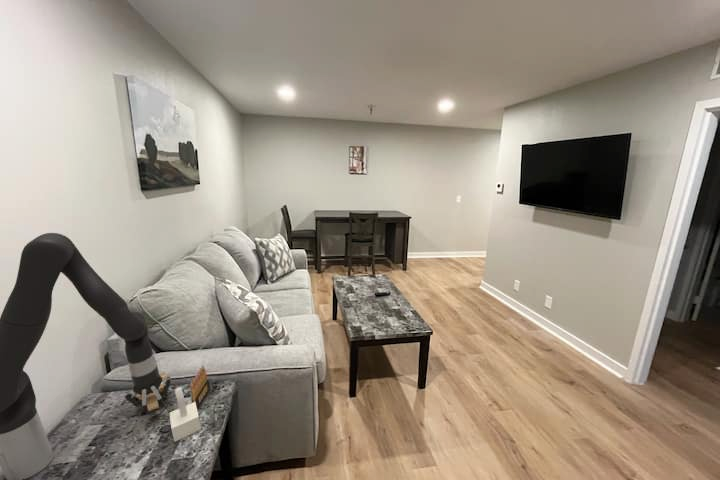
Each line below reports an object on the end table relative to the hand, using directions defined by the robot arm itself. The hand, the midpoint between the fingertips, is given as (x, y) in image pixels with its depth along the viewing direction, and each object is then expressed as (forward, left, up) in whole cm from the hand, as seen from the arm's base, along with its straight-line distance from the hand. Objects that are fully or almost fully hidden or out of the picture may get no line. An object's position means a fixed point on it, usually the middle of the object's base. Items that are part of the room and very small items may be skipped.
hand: (154, 408), depth 108 cm
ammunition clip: (+15, 0, -4) cm, 16 cm away
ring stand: (+8, -11, -4) cm, 14 cm away
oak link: (0, +6, +2) cm, 6 cm away
